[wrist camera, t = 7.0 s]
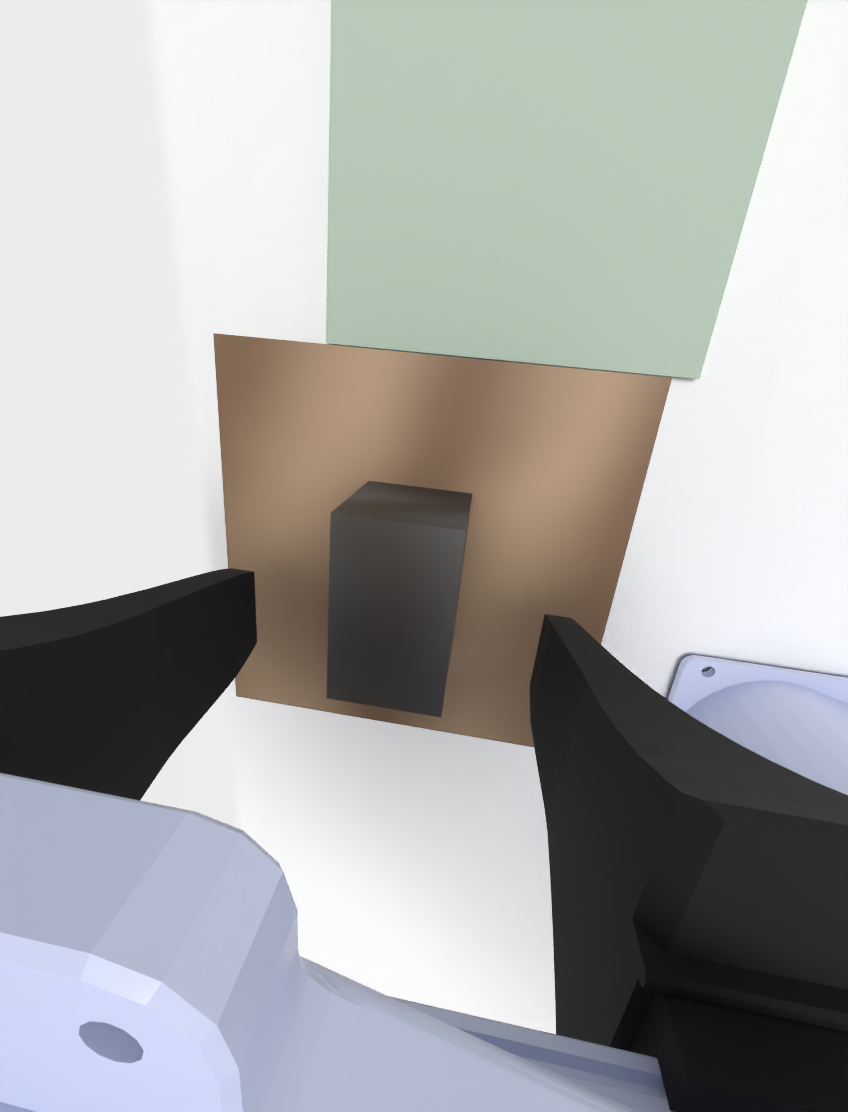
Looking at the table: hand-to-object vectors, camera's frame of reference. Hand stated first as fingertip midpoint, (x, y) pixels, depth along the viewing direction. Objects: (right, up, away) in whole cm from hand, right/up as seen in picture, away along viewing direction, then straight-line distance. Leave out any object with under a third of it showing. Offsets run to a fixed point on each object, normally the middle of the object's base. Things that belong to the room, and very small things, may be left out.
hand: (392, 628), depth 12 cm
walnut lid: (+1, +2, +4) cm, 4 cm away
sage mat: (+4, +15, +3) cm, 16 cm away
